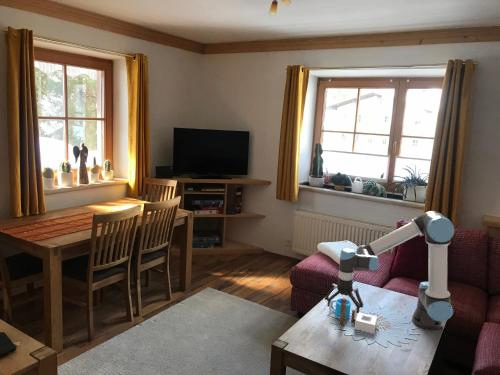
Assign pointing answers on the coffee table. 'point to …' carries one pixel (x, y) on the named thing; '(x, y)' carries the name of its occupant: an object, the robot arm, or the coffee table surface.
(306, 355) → the coffee table surface
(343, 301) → the long dowel
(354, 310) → the short dowel
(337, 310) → the mug
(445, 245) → the robot arm
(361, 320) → the hole block
